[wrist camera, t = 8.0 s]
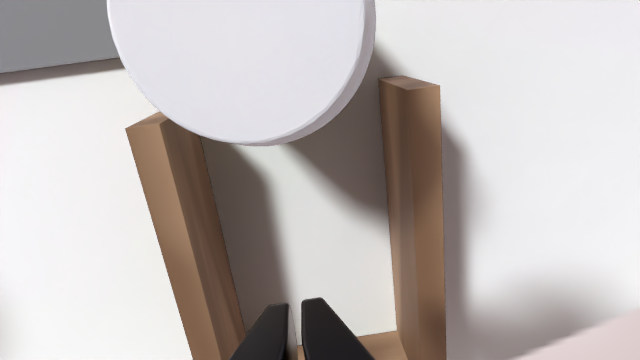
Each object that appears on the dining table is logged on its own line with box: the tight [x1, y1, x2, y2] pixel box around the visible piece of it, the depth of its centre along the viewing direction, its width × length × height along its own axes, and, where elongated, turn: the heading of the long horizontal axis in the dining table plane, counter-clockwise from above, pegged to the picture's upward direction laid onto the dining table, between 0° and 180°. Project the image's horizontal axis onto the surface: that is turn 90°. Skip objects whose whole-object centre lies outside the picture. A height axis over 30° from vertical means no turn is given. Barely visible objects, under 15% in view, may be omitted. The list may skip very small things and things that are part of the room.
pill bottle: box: [107, 0, 376, 146], centre depth 13 cm, size 6×6×12 cm
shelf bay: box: [126, 76, 446, 360], centre depth 19 cm, size 11×16×5 cm
